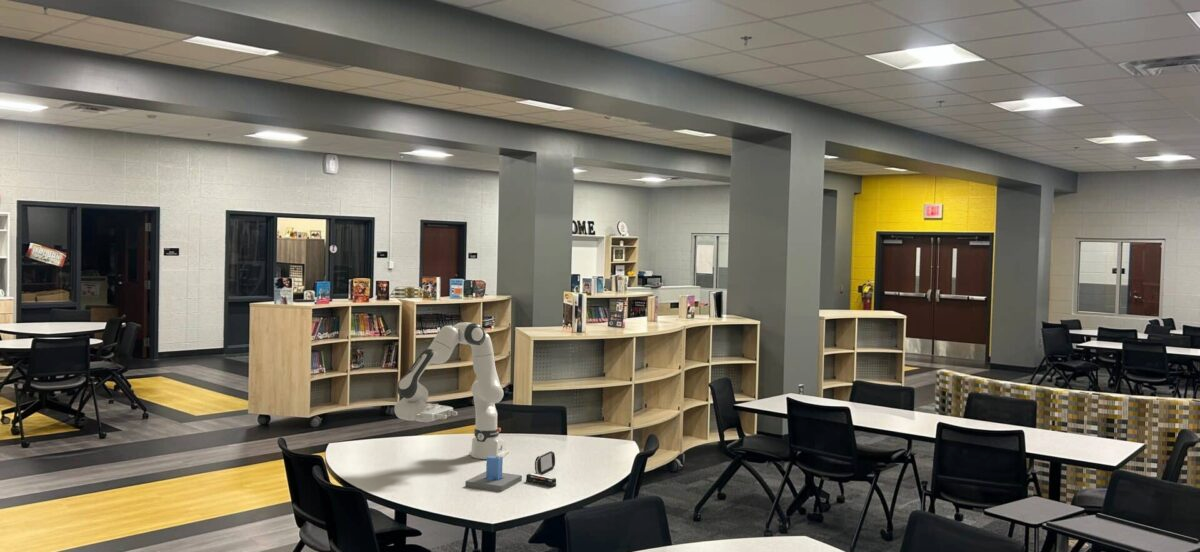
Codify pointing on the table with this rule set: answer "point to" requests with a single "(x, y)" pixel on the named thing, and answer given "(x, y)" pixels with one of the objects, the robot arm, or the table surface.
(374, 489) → the table surface
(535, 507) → the table surface
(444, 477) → the table surface
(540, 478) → the black flat block
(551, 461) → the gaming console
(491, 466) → the blue rectangular block
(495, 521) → the table surface
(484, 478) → the plate
